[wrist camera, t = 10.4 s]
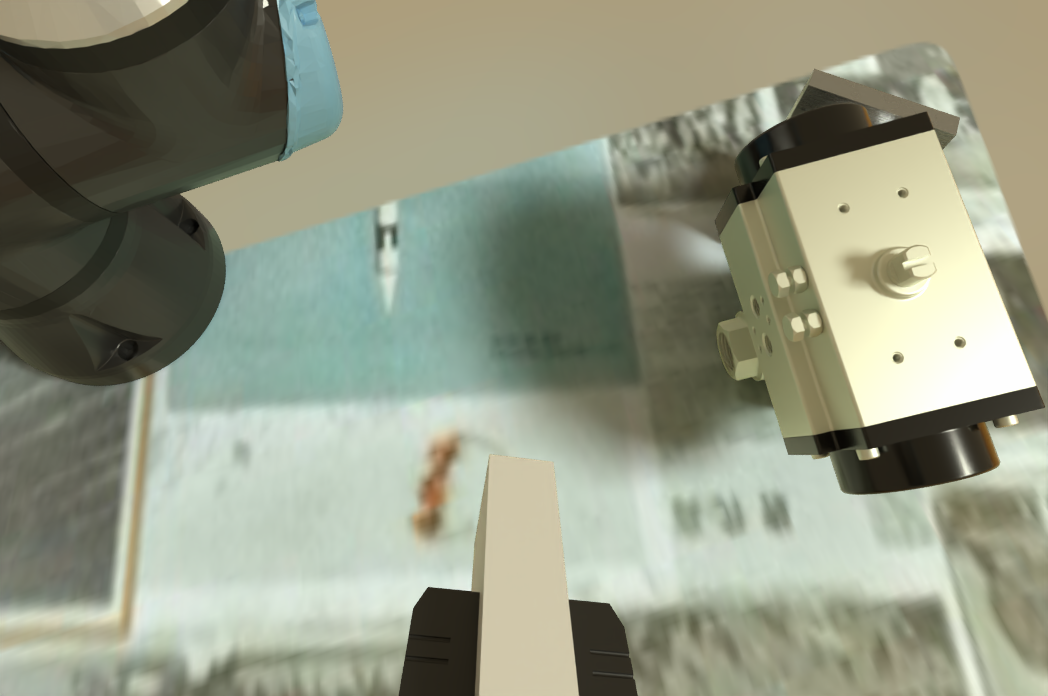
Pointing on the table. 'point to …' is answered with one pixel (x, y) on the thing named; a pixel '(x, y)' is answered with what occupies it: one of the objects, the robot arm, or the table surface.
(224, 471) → the table surface
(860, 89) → the flanged fitting
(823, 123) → the ball valve
